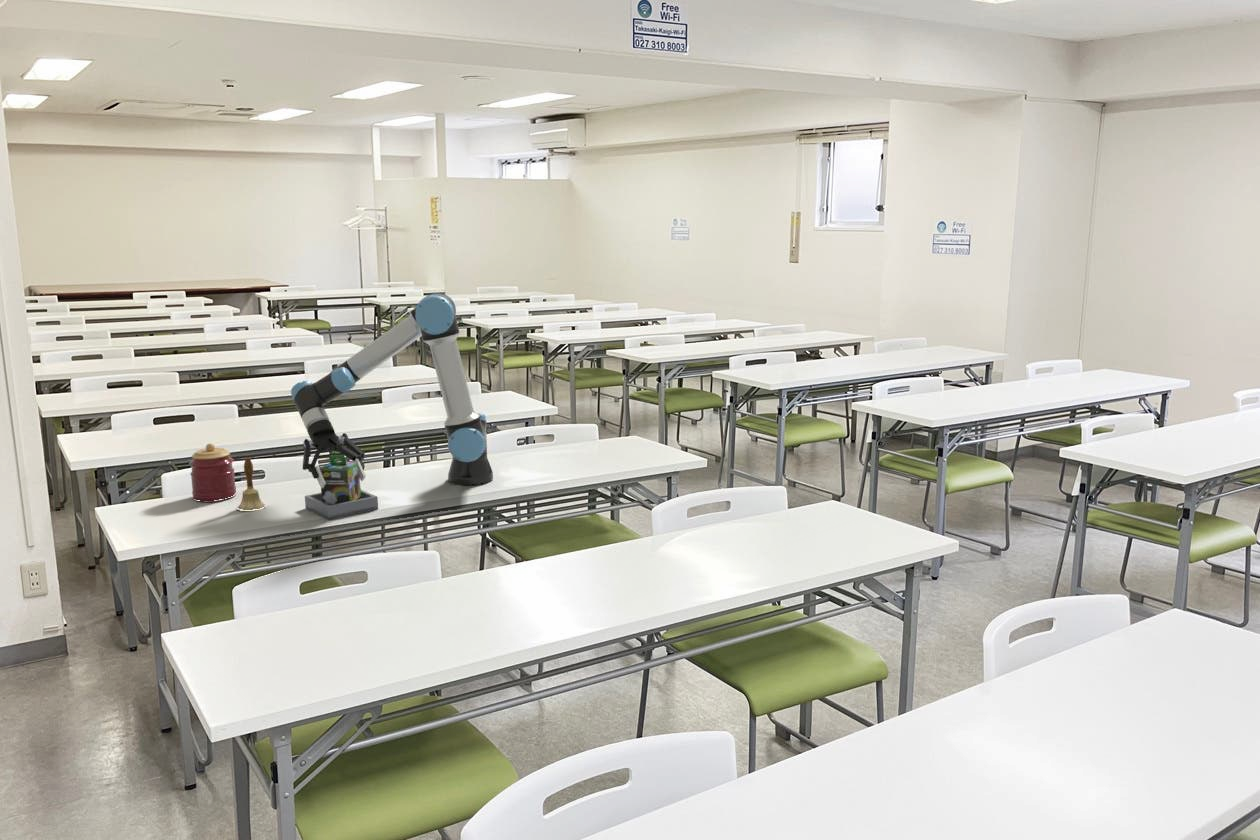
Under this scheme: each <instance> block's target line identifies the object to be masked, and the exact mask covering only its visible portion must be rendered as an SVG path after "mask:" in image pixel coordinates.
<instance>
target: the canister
mask: <svg viewBox="0 0 1260 840" xmlns="http://www.w3.org/2000/svg"><path fill="white" fill-rule="evenodd" d="M230 454H231V452H230V451H228V450H226V449H225V448H224V447H223V448H222V447H216V446H215V445H214V443H207V444H206V446H205V448H202V449H199V450H197V451H195V453H193V454H192V455H191V458H192V460H191V461H190V462H189V464H188V465H189V466H190V467H191V472H190V474H189V475H190V477H191V487H192V489H191V490H192V491H191V493H192V494H191V495H192V499H193V500H194V499H196V500H200V501H214V500H219V499H225V498H228V497H231V496H233V495H234V494H235V493H236V494H237V487H236V481H235V468H234V467H233V462H234V458H232V457H231V456H230Z"/></svg>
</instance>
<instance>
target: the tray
mask: <svg viewBox="0 0 1260 840" xmlns="http://www.w3.org/2000/svg"><path fill="white" fill-rule="evenodd" d="M378 500H379V498H378V496H377V495H375V494H373V493H370V492H367V491H366V490H362V489H361V497H360V498H359V499H357V500H354V501H349V502H344V503H339V504H334V505H331V504H325V503H323V502H322V495H321V492H319V493H318V492H317V493H312V494H308V495H304V502H305V505H304V506H305V509H306V510H308V511H310V512H312V513H314V514H316V515H318V516H320V517H322V518H324V519H325V520H328V521H329V520H335V519H338V518H339V519H340V518H344V517H347V516H349V517H350V516H354V515H359V514H362V513H367V512H371V511H377V510H379V502H378Z"/></svg>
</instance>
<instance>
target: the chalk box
mask: <svg viewBox="0 0 1260 840" xmlns="http://www.w3.org/2000/svg"><path fill="white" fill-rule="evenodd" d="M336 459H339V460H341V461H336ZM329 461H330V462H329V463H327V464H324V465H323V466H322V467H319V469H320V471H321V473H322V475H323V478H324V480H325V482H326V484H325V486H324V488H322V489H321V488H320V491H321V492H320V493H321V495H322V502H323V503H325V504H331V505H334V504H339V503H344V502H349V501H354V500H357V499H359V498H360V497H361V490H362V488H361V480H360V477H359V466H358V462H354V461H346V456H345V455H343V454H339V455H338V454H330V455H329Z"/></svg>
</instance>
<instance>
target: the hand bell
mask: <svg viewBox="0 0 1260 840" xmlns="http://www.w3.org/2000/svg"><path fill="white" fill-rule="evenodd" d="M243 471H244V474H245V476H246V489H245V490H243V491H242V497H241V502H240V504H239V505H238V506H237V508H239V509H243V510H253V509H260V508H262V507H264V506H265V505H266V504H265V503H264V502H263V501H262V500H261V497H260V494H259V490H258V489H256V488H255V487H254V484H253V473H254V464H253V463H252V460H251V457H245V460H244V464H243Z"/></svg>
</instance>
